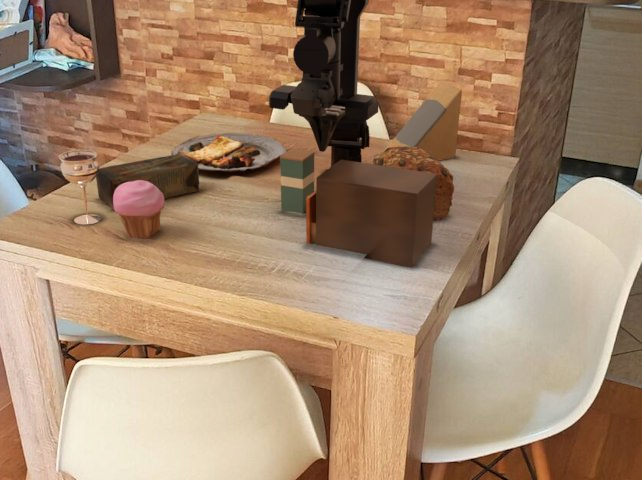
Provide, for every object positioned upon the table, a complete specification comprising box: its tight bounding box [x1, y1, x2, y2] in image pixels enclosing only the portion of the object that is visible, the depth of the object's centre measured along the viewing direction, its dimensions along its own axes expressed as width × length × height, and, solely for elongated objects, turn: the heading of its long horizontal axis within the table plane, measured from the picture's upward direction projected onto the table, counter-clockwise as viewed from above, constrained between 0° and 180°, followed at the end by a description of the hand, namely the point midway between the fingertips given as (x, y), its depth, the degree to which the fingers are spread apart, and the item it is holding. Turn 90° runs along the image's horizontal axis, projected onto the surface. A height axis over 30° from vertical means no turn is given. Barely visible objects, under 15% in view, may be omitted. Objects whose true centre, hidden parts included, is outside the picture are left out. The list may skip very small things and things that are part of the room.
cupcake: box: [113, 180, 165, 240], centre depth 144 cm, size 9×9×10 cm
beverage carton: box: [95, 154, 200, 211], centre depth 161 cm, size 8×19×7 cm, turn 125°
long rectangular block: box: [279, 148, 316, 214], centre depth 154 cm, size 5×5×11 cm
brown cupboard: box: [315, 160, 437, 268], centre depth 139 cm, size 18×10×13 cm, turn 65°
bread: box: [371, 146, 455, 220], centre depth 157 cm, size 19×11×10 cm, turn 14°
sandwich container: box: [383, 80, 463, 162], centre depth 180 cm, size 9×15×15 cm, turn 116°
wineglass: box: [58, 149, 102, 225], centre depth 150 cm, size 7×7×12 cm
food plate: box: [171, 132, 287, 174], centre depth 181 cm, size 25×23×4 cm
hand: (322, 150), depth 147 cm, fingers closed
